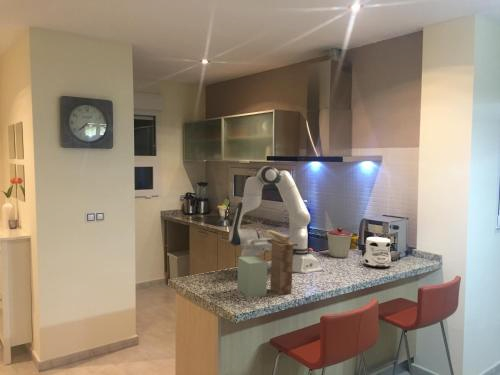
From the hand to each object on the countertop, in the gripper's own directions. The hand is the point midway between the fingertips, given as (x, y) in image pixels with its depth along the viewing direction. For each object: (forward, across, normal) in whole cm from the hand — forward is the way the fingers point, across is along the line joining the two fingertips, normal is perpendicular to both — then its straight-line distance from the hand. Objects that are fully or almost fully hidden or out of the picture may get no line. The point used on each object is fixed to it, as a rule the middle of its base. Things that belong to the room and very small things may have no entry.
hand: (266, 238), depth 234 cm
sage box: (0, -15, +28) cm, 32 cm away
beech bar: (+12, 0, +5) cm, 13 cm away
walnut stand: (+3, 0, +30) cm, 30 cm away
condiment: (-61, +106, -7) cm, 122 cm away
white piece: (-18, +87, +18) cm, 91 cm away
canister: (-45, +79, +2) cm, 91 cm away
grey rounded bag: (-30, +110, +11) cm, 115 cm away
